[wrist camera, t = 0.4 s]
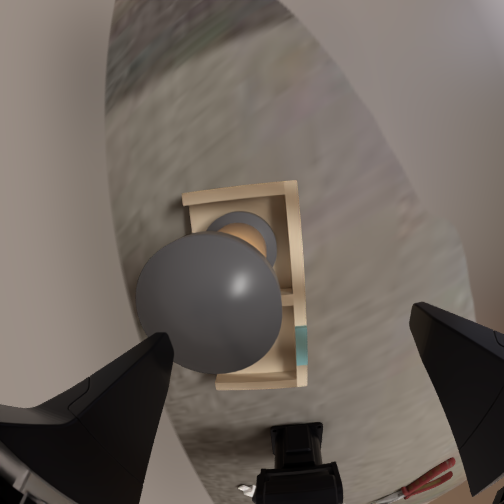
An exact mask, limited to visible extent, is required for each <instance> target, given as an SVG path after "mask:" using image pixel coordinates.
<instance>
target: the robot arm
mask: <svg viewBox="0 0 504 504" xmlns="http://www.w3.org/2000/svg"><path fill="white" fill-rule="evenodd" d="M409 326H410V330H411V332H412V335H413V338H414V340H415V343H416V346H417V349H418V351H419V354H420V357H421V360H422V362H423V364H424V366H425V368H426V370H427V373H428V375H429V377H430V379H431V381H432V384H433V386H434V388H435V390H436V393H437V395H438V397H439V400H440V402H441V404H442V407H443V409H444V412H445V414H446V417H447V419H448V422H449V425H450V427H451V430H452V433H453V435H454V438H455V441H456V444H457V447H458V450H459V453H460V457H461V460H462V463H463V466H464V470H465V473H466V477H467V480H468V484H469V488H470V492H471V495H472V497H474V496H475V495H477V494H479V493H480V492H482V491H483V490H485V489H487V488H488V487H489V486H491V485H493V484H494V483H496V482H497V481H498V480H500V479H501V478H503V477H504V334H502V333H500V332H497V331H493V330H492V329H490V328H487V327H485V326H482V325H480V324H478V323H475V322H473V321H470V320H468V319H465V318H463V317H460V316H458V315H455V314H453V313H450V312H448V311H445V310H443V309H440V308H438V307H435V306H433V305H430V304H428V303H425V302H418V303H414V304H413V306H412V310H411V316H410V321H409ZM173 359H174V349H173V346H172V343H171V341H170V338H169V335H168V334H167V333H166V332H156V333H154V334H153V335H151V336H150V337H148V338H147V339H145V340H144V341H142V342H141V343H139V344H138V345H136V346H135V347H133V348H132V349H130V350H129V351H127V352H126V353H124V354H123V355H121V356H120V357H118V358H117V359H115V360H114V361H112V362H111V363H109V364H108V365H106V366H105V367H103V368H102V369H100V370H98V371H97V372H95V373H94V374H92V375H91V376H90V377H88V378H86V379H85V380H83V381H82V382H80V383H78V384H77V385H75V386H73V387H72V388H70V389H68V390H67V391H65V392H63V393H61V394H59V395H57V396H56V397H54V398H52V399H50V400H48V401H46V402H44V403H42V404H40V405H38V406H36V407H33V408H18V407H12V406H6V405H0V504H139V501H140V497H141V493H142V488H143V483H144V479H145V475H146V471H147V466H148V463H149V458H150V455H151V451H152V446H153V443H154V439H155V435H156V432H157V428H158V424H159V420H160V417H161V413H162V409H163V406H164V403H165V399H166V396H167V392H168V388H169V383H170V377H171V371H172V365H173ZM322 433H323V424H322V423H311V424H301V425H290V426H274V427H271V440H272V449H273V455H275V468H274V469H261V473H260V474H259V475H258V476H257V483H256V488H255V491H254V494H253V497H252V501H253V502H254V503H255V504H342V503H343V487H342V482H341V478H340V474H339V471H338V467H337V464H336V462H331V463H327V464H322V457H321V443H322ZM493 504H504V487H503V488H501V489H500V490H499V491H497V494H496V496H495V499H494V501H493Z"/></svg>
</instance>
